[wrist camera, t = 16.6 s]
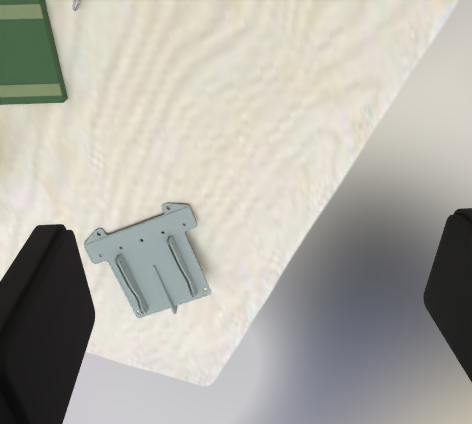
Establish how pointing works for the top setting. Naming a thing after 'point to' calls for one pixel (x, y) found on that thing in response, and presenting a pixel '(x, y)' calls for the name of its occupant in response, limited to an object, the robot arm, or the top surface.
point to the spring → (76, 6)
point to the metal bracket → (153, 261)
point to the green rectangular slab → (28, 55)
